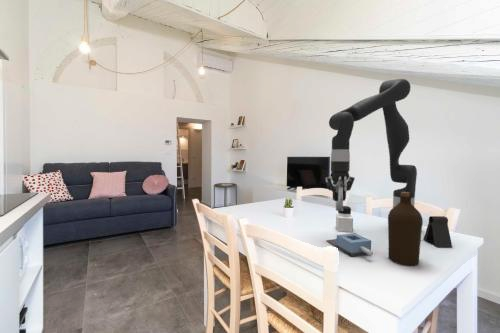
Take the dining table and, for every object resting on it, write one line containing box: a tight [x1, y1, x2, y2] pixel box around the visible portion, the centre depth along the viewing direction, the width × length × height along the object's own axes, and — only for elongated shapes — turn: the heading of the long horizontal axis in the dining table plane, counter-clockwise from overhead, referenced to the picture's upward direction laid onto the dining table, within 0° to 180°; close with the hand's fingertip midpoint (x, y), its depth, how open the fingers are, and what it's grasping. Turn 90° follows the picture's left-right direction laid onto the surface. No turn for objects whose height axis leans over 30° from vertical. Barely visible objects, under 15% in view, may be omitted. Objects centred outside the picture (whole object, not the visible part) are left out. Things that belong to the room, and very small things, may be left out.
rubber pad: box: [326, 238, 337, 248], centre depth 106 cm, size 7×7×1 cm
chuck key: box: [335, 180, 344, 212], centre depth 105 cm, size 5×3×13 cm, turn 16°
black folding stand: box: [422, 215, 453, 249], centre depth 106 cm, size 9×6×12 cm, turn 177°
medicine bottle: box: [335, 205, 354, 233], centre depth 126 cm, size 7×7×12 cm
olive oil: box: [387, 192, 424, 267], centre depth 89 cm, size 11×11×25 cm
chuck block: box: [336, 232, 374, 258], centre depth 95 cm, size 9×14×6 cm, turn 16°
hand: (339, 200), depth 105 cm, fingers closed on chuck key, 3 cm apart
